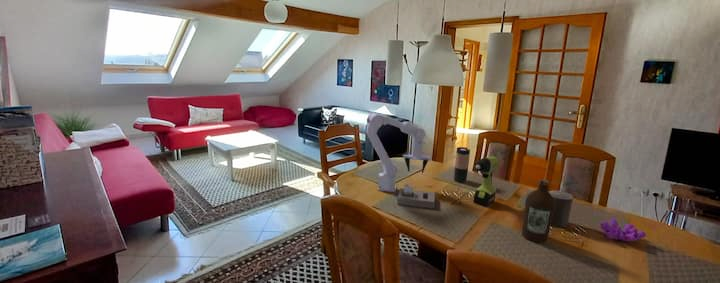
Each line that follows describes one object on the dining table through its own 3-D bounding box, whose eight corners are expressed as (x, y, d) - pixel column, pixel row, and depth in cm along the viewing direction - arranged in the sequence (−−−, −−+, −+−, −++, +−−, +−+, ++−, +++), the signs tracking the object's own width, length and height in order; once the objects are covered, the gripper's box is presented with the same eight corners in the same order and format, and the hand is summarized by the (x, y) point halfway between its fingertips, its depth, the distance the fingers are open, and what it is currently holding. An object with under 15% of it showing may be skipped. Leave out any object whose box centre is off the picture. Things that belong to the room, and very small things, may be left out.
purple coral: (596, 238, 139) (599, 217, 141) (641, 250, 131) (643, 227, 133) (600, 233, 130) (603, 211, 133) (648, 245, 122) (651, 221, 124)
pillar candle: (555, 229, 139) (561, 197, 135) (537, 218, 148) (543, 188, 144) (572, 226, 142) (579, 195, 138) (554, 216, 151) (560, 186, 147)
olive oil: (520, 227, 140) (529, 174, 133) (548, 234, 135) (559, 179, 128) (519, 239, 131) (528, 182, 124) (549, 246, 126) (560, 188, 119)
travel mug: (452, 181, 191) (455, 149, 185) (454, 177, 197) (458, 146, 192) (465, 184, 187) (469, 151, 182) (467, 179, 194) (471, 148, 188)
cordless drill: (477, 214, 151) (484, 164, 144) (463, 209, 155) (469, 161, 149) (496, 199, 167) (502, 154, 161) (483, 195, 172) (488, 151, 165)
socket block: (397, 204, 160) (397, 197, 159) (399, 194, 171) (400, 188, 170) (433, 208, 156) (434, 202, 155) (434, 198, 167) (434, 192, 166)
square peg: (403, 201, 163) (403, 186, 161) (404, 198, 167) (404, 183, 165) (410, 202, 162) (411, 187, 160) (411, 199, 166) (412, 184, 164)
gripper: (403, 149, 173) (401, 173, 176) (430, 151, 169) (428, 175, 173) (404, 146, 179) (403, 168, 183) (430, 148, 176) (428, 171, 180)
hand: (415, 171), depth 178 cm, fingers open, 7 cm apart
